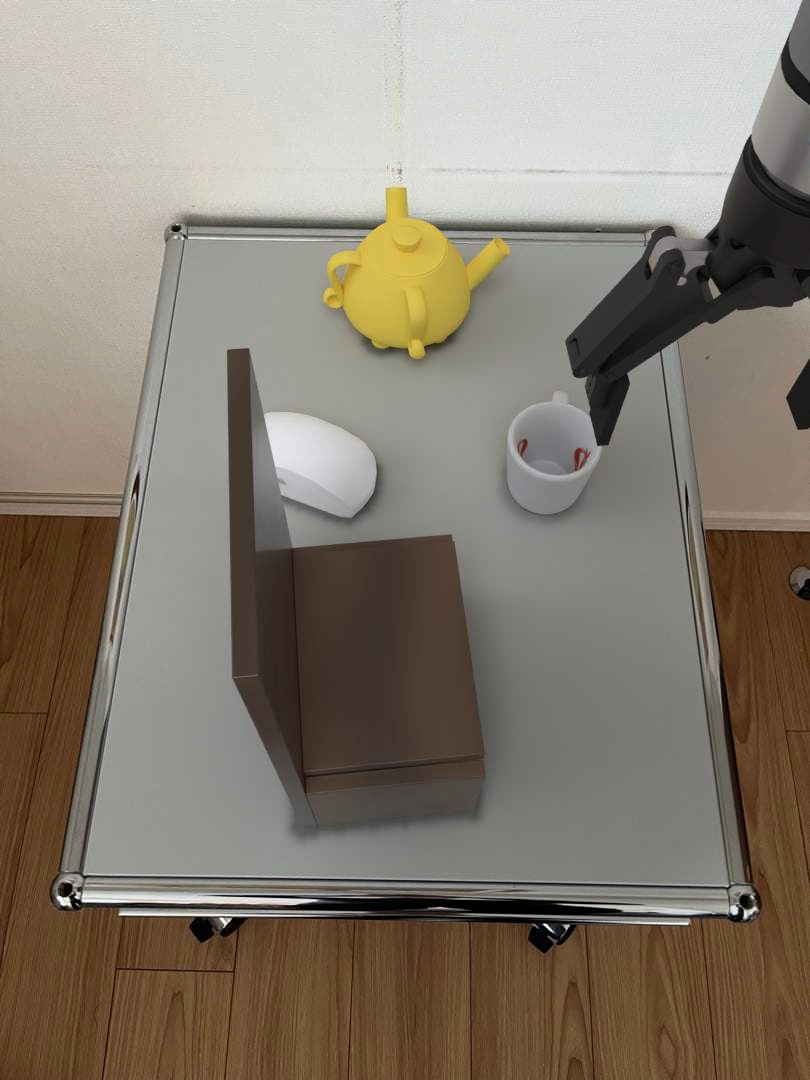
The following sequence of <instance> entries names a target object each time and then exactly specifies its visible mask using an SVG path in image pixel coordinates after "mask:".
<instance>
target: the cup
mask: <svg viewBox="0 0 810 1080" xmlns="http://www.w3.org/2000/svg"><path fill="white" fill-rule="evenodd" d="M569 403H570V395H569V393H568V392H566V391H562V390H556V391H554V392H553V393H552V396H551V401H541V402H538V403H534V404H532V405H529V406H527V407H526V408H524V409H523V410H521V411H520V412H519V413H518V414H516V416H515V417H514V418H513V420H512V421H511V423H510V425H509V427H508V430H507V435H506V437H507V438H506V481H507V482H506V483H507V486H508V490H509V492H510V494H511V496H512V498H513V500H514V501H515V502H516V503H517V504H518V505H519V506H521V507H522V508H523V509H524V510H527V511H528V512H531V513H534V514H538V515H553V514H558V513H561V512H563V511H565V510H567V509H569V508H570V507H571V506H572V505H573V504H574V503H575V502H576V501H577V499H578V498H579V496H580V495H581V493H582V492H583V490H584V489H585V486H586V485H587V482H588V481H589V479H590V477H591V476H592V474H593V473H594V470H595V468H596V467H597V465H598V463H599V461H600V459H601V457H602V453H603V446H597V443H596V439H595V434H594V430H593V426H592V422H591V418H590V414H589V413H587V412H585V410H582V409H581V408H579V407H578V406H575V405H572V404H569Z"/></svg>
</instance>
